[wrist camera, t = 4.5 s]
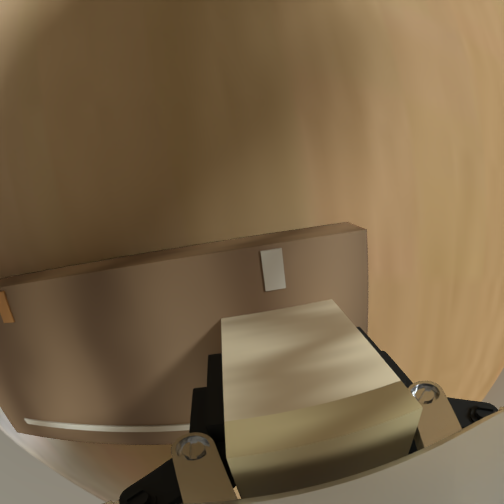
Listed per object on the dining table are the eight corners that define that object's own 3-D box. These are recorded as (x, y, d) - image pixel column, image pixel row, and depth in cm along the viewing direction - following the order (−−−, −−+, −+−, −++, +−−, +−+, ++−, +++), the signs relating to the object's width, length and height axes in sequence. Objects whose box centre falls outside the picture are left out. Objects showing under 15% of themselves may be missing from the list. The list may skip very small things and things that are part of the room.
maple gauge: (332, 299, 12) (423, 407, 6) (333, 383, 14) (391, 495, 7) (221, 318, 12) (226, 458, 5) (239, 402, 13) (254, 530, 7)
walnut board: (347, 222, 14) (367, 230, 12) (349, 390, 16) (362, 412, 14) (-32, 284, 12) (-52, 296, 10) (27, 414, 15) (16, 433, 13)
